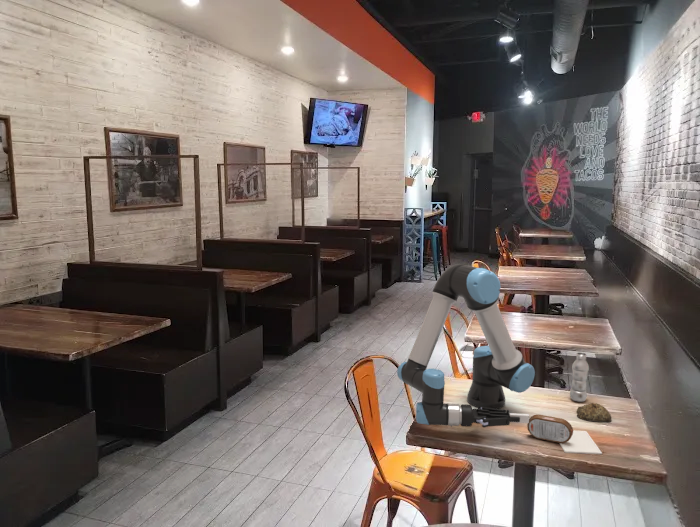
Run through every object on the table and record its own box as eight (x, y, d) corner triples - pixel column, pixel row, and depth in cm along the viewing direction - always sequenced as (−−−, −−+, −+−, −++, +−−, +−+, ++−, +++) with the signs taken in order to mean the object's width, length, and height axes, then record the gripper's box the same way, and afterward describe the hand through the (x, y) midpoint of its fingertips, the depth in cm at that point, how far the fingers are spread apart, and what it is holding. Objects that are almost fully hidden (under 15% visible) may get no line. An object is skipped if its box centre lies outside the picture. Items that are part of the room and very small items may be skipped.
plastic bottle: (585, 398, 232) (588, 352, 229) (587, 404, 225) (591, 357, 222) (568, 396, 234) (572, 350, 230) (570, 402, 227) (573, 355, 224)
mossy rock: (613, 425, 208) (614, 412, 207) (577, 420, 211) (578, 408, 211) (607, 411, 220) (608, 399, 219) (574, 407, 224) (574, 395, 223)
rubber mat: (564, 452, 187) (564, 451, 187) (552, 430, 203) (552, 429, 202) (601, 454, 186) (602, 452, 186) (586, 432, 202) (586, 430, 201)
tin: (573, 442, 192) (573, 419, 191) (571, 446, 190) (571, 423, 188) (528, 433, 200) (528, 411, 199) (526, 437, 197) (526, 415, 196)
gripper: (457, 417, 203) (523, 420, 201) (461, 433, 190) (532, 437, 188) (458, 397, 202) (525, 400, 200) (462, 412, 189) (533, 416, 187)
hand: (528, 418), depth 194 cm, fingers closed
